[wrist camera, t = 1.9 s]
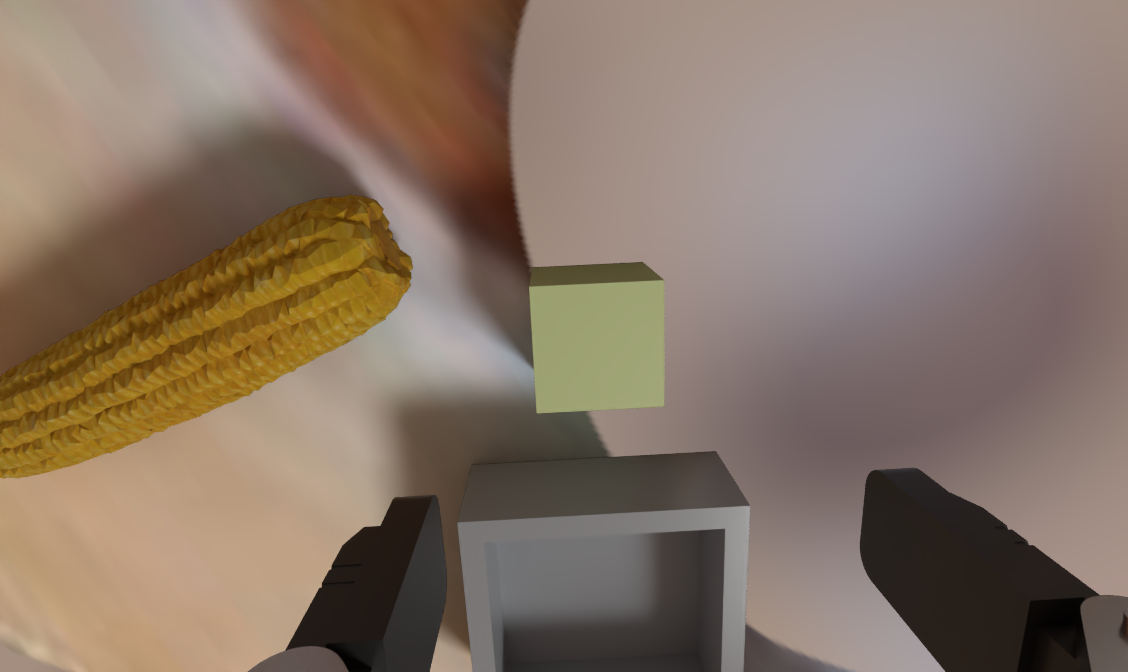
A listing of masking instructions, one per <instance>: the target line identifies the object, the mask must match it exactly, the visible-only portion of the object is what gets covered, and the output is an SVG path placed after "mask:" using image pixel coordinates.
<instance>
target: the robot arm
mask: <svg viewBox="0 0 1128 672" xmlns="http://www.w3.org/2000/svg"><path fill="white" fill-rule="evenodd" d="M860 553H861V558H862V562H863V566H864V568H865V570H866V573H867V575H868V577H869V578H870V580H871V581H872V582H873V584H874V585H875V586H876V587H877V588H878V590H879V591H880V592H881V593H882V594H883V596H884V597H885V598H886V599H887V601H888V602H889V603H890V604H891V605H892V607H893V608H894V609H895V610H896V611H897V613H898V614H899V615H900V617H901V618H902V619H903V620H904V621H905V623H906V624H907V625H908V626H909V628H910V629H911V630H912V631H913V632H914V634H915V635H916V636H917V637H918V638H919V640H920V641H921V642H922V643H923V645H924V646H925V647H926V648H927V650H928V651H929V652H930V653H931V654H932V656H933V657H934V658H935V659H936V661H937V662H938V663H939V664H940V665H941V667H942V668H943V669H944V670H945V672H1128V597H1123V596H1113V595H1099V594H1098V593H1096V592H1095V591H1094V590H1092V589H1091V588H1089V587H1088V586H1087V585H1086V584H1084V583H1083V582H1081V581H1080V580H1079V579H1078V578H1076V577H1075V576H1073V575H1072V574H1071V573H1069V572H1068V571H1067V570H1065V569H1064V568H1063V567H1061V566H1060V565H1059V564H1057V563H1056V562H1055V561H1053V560H1052V559H1051V558H1049V557H1048V556H1047V555H1045V554H1044V553H1043V552H1041V551H1040V550H1039V549H1037V548H1036V547H1035V546H1033V545H1028V541H1027V540H1025V539H1024V538H1022V537H1021V536H1020V535H1018V534H1017V533H1016V532H1014V531H1013V530H1008V528H1007V525H1005V524H1004V523H1003V522H1001V521H1000V520H998V519H997V518H996V517H994V516H993V515H992V514H990V513H989V512H988V511H987V510H985V509H984V508H982V507H980V506H978V505H976V504H973V503H971V502H969V501H967V500H964V499H963V498H961V497H958V496H956V495H954V494H952V493H949V492H948V491H947V490H945V489H944V488H943V487H942V486H940V485H939V484H938V483H936V482H935V481H934V480H932V479H931V478H930V477H929V476H927V475H926V474H925V473H923V472H922V471H921V470H919V469H917V468H902V469H886V470H874V471H871V472H870V473H869V475H868V477H867V480H866V485H865V497H864V507H863V517H862V527H861V537H860ZM446 590H447V572H446V562H445V553H444V544H443V535H442V526H441V517H440V509H439V503H438V499H437V497H436V495H427V496H410V497H395V498H394V499H393V500H392V502H391V505H390V507H389V509H388V511H387V513H386V515H385V517H384V520H383V522H382V524H381V526H373V527H364V528H362V529H361V530H360V531H359V532H358V533H357V534H355V535H354V536H353V537H352V538H351V539H350V540H348V541H347V542H346V543H345V544H344V545H343V546H342V548H341V549H340V551H339V553H338V555H337V557H336V559H335V560H334V562H333V564H332V568H331V570H329V571H328V573H327V575H326V577H325V579H324V581H323V582H322V588H319V590H318V592H317V593H316V595H315V597H314V599H313V601H312V603H311V604H310V606H309V608H308V610H307V612H306V613H305V615H304V617H303V619H302V621H301V623H300V624H299V626H298V628H297V630H296V632H295V634H294V635H293V637H292V639H291V641H290V643H289V645H288V646H287V648H286V650H285V651H283V652H280V653H278V654H276V655H273V656H271V657H269V658H267V659H266V660H264V661H262V662H260V663H259V664H257V665H256V666H254V667H253V668H252V669H250V670H249V671H248V672H430V667H431V663H432V659H433V654H434V650H435V646H436V641H437V637H438V633H439V628H440V624H441V619H442V615H443V611H444V606H445V600H446Z"/></svg>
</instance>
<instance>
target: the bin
mask: <svg viewBox="0 0 1128 672" xmlns="http://www.w3.org/2000/svg"><path fill="white" fill-rule="evenodd" d="M749 523H750V505H749V503H748V501H747V500H746V498H745V497H744V495H743V493H742V492H741V490H740V489H739V487H738V485H737V484H736V482H735V481H734V479H733V477H732V476H731V474H730V473H729V471H728V470H727V468H726V466H725V465H724V463H723V462H722V460H721V459H720V457H719V455H718V454H717V452H716V451H712V452H696V453H676V454H659V455H640V456H622V457H604V458H586V459H568V460H550V461H532V462H514V463H496V464H478V465H472V467H471V471H470V475H469V478H468V482H467V486H466V490H465V494H464V498H463V502H462V506H461V510H460V513H459V517H458V521H457V526H458V536H459V545H460V555H461V564H462V574H463V583H464V593H465V602H466V612H467V621H468V631H469V640H470V650H471V660H472V669H473V672H743V671H744V646H745V622H746V597H747V572H748V548H749Z"/></svg>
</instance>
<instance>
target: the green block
mask: <svg viewBox="0 0 1128 672" xmlns="http://www.w3.org/2000/svg"><path fill="white" fill-rule="evenodd" d="M529 295H530V312H531V328H532V345H533V362H534V378H535V395H536V412H537V413H554V412H573V411H592V410H610V409H629V408H648V407H664V280H663V279H662V278H661V277H660V276H659V275H657V274H656V273H655V272H654V271H653V270H652V269H650V268H649V267H648V266H647V265H646V264H644V263H643V262H635V263H613V264H592V265H571V266H550V267H533V268H532V271H531V278H530V284H529Z"/></svg>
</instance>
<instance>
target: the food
mask: <svg viewBox="0 0 1128 672" xmlns="http://www.w3.org/2000/svg"><path fill="white" fill-rule="evenodd" d="M383 210H384V209H383V208H382V207H381V206H380V204H379V203H378V202H377V201H376V200H374V199H370V198H367V197H363V196H357V195H351V194H350V195H347V196H345V197H329V198H322V199H315V200H312V201H309V202H305V203H302V204H299V205H296V206H293V207H290V208H288V209H286V210H285V211H283V212H281V213H280V214H278V215H276V216H274V217H272V218H268V219H267V220H266V221H265V222H263V223H262V224H261V225H257V226H256V227H255V228H254V229H253V230H250V231H248V232H247V233H246V234H245V235H244V236H243V237H242V236H238V237H237V238H236V240H235V241H234V242H233V243H232V244H231V245H230V246H227V247H225V249H217V250H215V251H214V252H213V253H212V254H210V255H209V256H207V257H205V258H204V259H202V260H201V261H199V262H197V263H195V264H193V265H191V266H190V267H188V268H187V269H186V270H183V271H181V270H180V271H179V272H178V273H177V274H175V275H173V276H171V277H168V278H167V279H166V280H163V281H159V284H156V285H153V286H149V287H148V289H147V290H145V291H140V294H138V295H136V296H135V295H134V296H132V297H131V298H130V299H129V300H128V301H126V302H125V303H124V304H122V305H121V306H119V307H117V308H115V309H113V310H111V311H108V310H107V311H106V312H105V313H104V314H103V315H102V316H101V317H99V318H98V319H97V320H95V321H94V322H92V323H91V324H89V325H88V326H87V327H85V328H83V329H82V330H80V331H76V332H75V333H72V334H69V335H68V336H67V337H65V338H64V339H62V340H61V341H59V342H57V343H56V344H54V345H52V346H51V345H50V346H48V347H47V348H46V349H44V350H43V351H41V352H39V353H37V354H36V355H34V356H32V357H31V358H29V359H28V360H26V361H24V362H23V363H21V364H19V365H17V366H15V367H13V368H11V369H9V370H8V371H7V372H6V373H4V374H3V375H2V376H1V377H0V478H7V477H9V478H21V477H28V476H33V475H38V474H42V473H46V472H50V471H54V470H57V469H61V468H65V467H69V466H72V465H75V464H79V463H81V462H84V461H86V460H89V459H91V458H94V457H97V456H100V455H102V454H105V453H112V452H114V451H117V450H119V449H122V448H124V447H125V446H128V445H130V444H133V443H136V442H139V441H141V440H142V439H144V438H148V437H149V436H151V435H152V434H153V433H154V432H163V431H164V430H165V429H167V428H168V427H170V426H173V425H176V424H179V423H182V422H185V421H188V420H190V419H193V418H196V417H199V416H201V415H202V414H204V413H208V412H209V411H211V410H213V409H216V408H218V407H220V406H222V405H224V404H227V403H231V402H234V401H236V400H238V399H240V398H242V397H244V396H249V395H250V394H251V393H252V392H253V391H254V390H259V389H260V388H261V387H262V386H263V385H265V384H267V383H268V382H273V381H275V380H276V379H277V378H279V377H280V376H282V375H284V374H286V373H288V372H294V371H295V369H296V368H298V367H300V366H302V365H305V364H307V363H309V362H310V361H312V360H314V359H316V358H318V357H319V356H321V355H323V354H325V353H328V352H330V351H333V350H334V349H336V348H338V347H340V346H342V345H344V344H346V343H348V342H349V341H351V340H352V339H354V338H355V337H357V336H358V335H363V334H364V333H365V332H366V331H367V330H369V329H370V328H372V327H373V326H375V325H376V324H378V323H380V322H382V321H384V320H386V316H387V315H388V314H389V313H391V312H392V311H393V310H394V309H395V308H396V307H397V306H398V303H399V301H400V300H401V298H402V296H403V294H404V293H406V292H407V290H408V289H409V287H410V286H411V284H410V280H411V272H409V271H411V270H412V269H413V266H412V261H411V257H410V256H409V255H407V254H406V253H404V252H403V251H401V250H400V249H399V247H398V245H397V243H396V242H395V241H394V240H393V239H392V235H393V233H392V232H391V231H390V230H389V229H388V226H389V221H388V220H387V218H386V217H385V215H384V214H383V213H382V212H383Z"/></svg>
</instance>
